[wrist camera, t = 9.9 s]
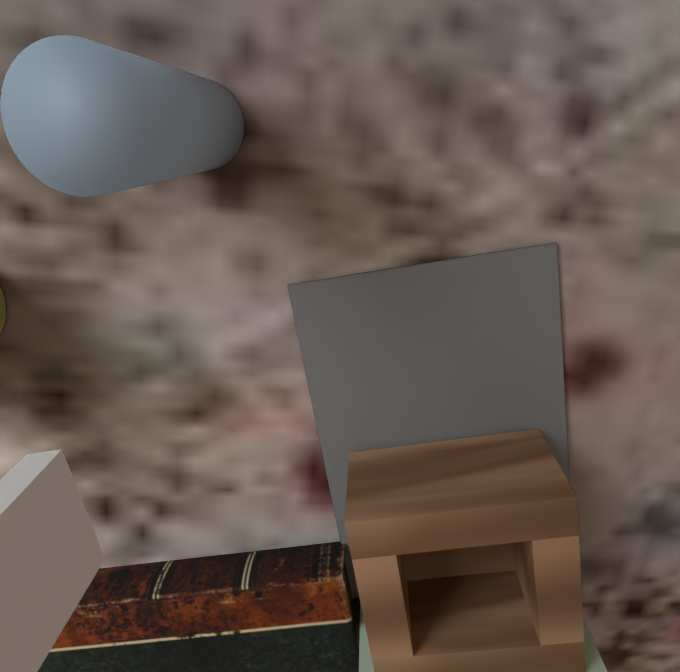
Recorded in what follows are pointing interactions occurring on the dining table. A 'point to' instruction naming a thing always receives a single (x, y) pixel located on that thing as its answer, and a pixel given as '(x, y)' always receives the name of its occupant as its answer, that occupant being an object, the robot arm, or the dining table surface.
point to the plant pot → (2, 310)
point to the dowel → (113, 118)
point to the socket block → (467, 556)
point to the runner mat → (432, 357)
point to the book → (216, 616)
